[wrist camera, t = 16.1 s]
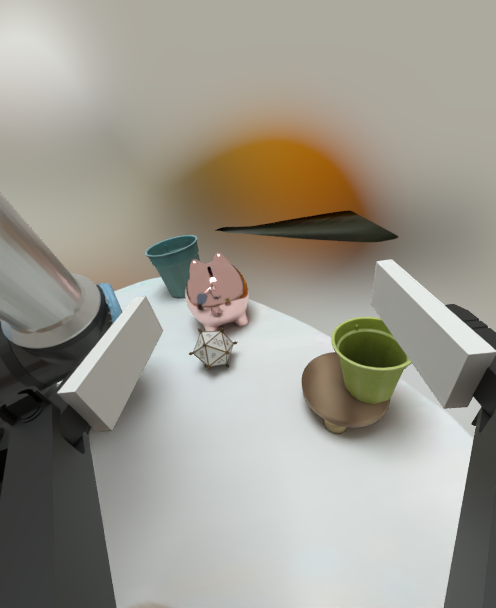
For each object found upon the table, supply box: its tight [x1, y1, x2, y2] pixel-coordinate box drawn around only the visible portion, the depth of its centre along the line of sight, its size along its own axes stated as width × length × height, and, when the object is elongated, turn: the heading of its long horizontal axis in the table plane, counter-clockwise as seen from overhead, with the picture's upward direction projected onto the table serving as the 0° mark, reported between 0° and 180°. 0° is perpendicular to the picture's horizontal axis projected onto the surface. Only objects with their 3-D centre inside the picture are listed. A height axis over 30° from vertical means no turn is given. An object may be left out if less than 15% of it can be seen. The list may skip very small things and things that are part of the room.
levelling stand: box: [302, 352, 390, 434], centre depth 36 cm, size 12×12×4 cm
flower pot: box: [145, 235, 200, 298], centre depth 78 cm, size 16×16×16 cm
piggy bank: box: [185, 253, 249, 331], centre depth 59 cm, size 15×18×16 cm
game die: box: [189, 328, 238, 370], centre depth 48 cm, size 9×8×10 cm
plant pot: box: [332, 317, 412, 404], centre depth 31 cm, size 9×9×9 cm
